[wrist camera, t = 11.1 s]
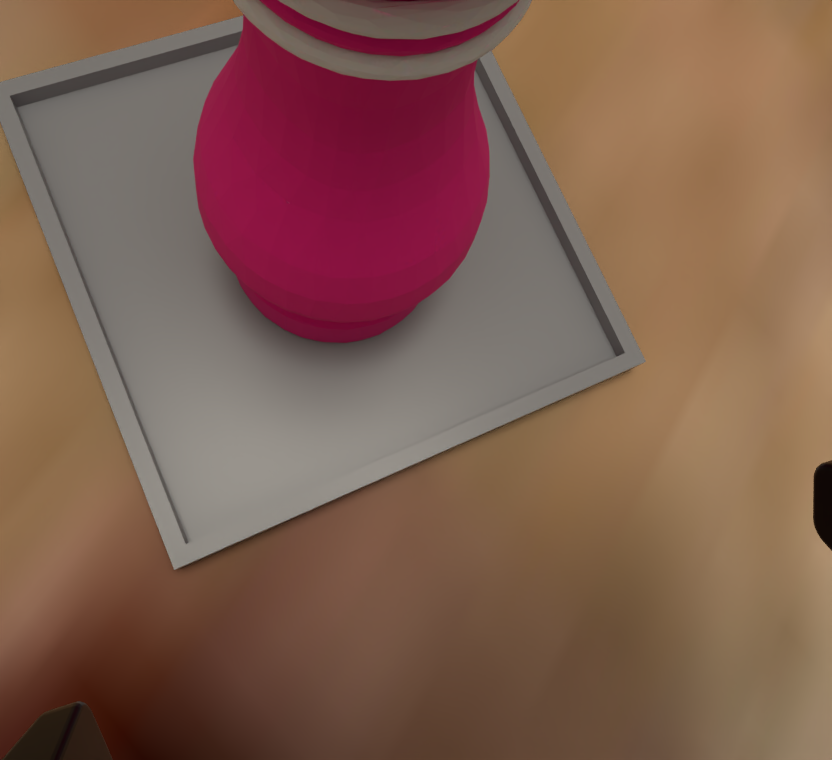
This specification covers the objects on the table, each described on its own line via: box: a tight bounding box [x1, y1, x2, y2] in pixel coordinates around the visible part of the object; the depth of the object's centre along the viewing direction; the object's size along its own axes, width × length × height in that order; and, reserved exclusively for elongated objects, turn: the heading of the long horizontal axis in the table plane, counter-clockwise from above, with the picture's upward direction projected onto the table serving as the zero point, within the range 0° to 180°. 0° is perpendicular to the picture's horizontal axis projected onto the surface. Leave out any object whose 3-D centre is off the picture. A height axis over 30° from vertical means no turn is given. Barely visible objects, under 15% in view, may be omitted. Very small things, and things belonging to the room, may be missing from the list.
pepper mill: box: [193, 0, 532, 343], centre depth 13 cm, size 7×7×20 cm
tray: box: [0, 16, 646, 570], centre depth 23 cm, size 15×15×1 cm
